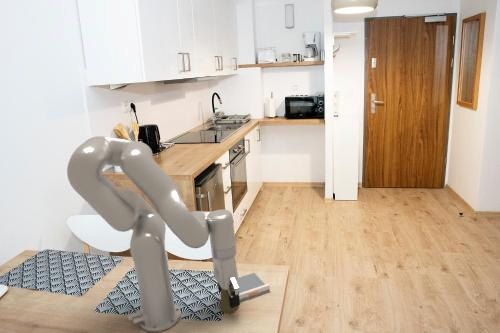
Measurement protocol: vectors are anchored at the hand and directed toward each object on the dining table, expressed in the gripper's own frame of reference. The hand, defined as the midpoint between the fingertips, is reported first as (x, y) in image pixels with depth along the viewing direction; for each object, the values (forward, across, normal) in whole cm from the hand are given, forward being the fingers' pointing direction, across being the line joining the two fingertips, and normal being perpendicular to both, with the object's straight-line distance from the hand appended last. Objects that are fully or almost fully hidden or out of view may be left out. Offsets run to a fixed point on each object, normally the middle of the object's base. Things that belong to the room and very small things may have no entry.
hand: (229, 298), depth 125 cm
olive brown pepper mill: (+4, 0, 0) cm, 4 cm away
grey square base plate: (+3, -7, +9) cm, 12 cm away
